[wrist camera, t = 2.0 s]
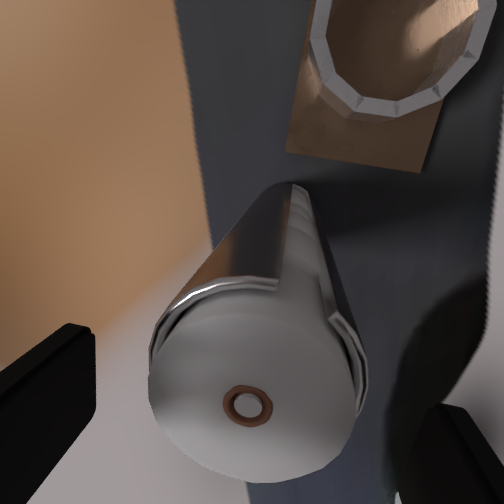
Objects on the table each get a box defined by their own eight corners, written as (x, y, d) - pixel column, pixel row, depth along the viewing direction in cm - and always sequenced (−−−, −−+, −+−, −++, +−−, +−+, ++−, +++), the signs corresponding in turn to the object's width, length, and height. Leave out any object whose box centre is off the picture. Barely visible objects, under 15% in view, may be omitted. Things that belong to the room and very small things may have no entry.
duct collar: (328, -93, 24) (339, -177, 18) (492, -78, 23) (564, -162, 17) (285, 151, 30) (282, 152, 24) (413, 172, 29) (445, 178, 23)
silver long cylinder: (328, 225, 31) (425, 457, 8) (273, 256, 33) (216, 518, 10) (296, 169, 30) (294, 241, 6) (240, 203, 32) (81, 358, 8)
